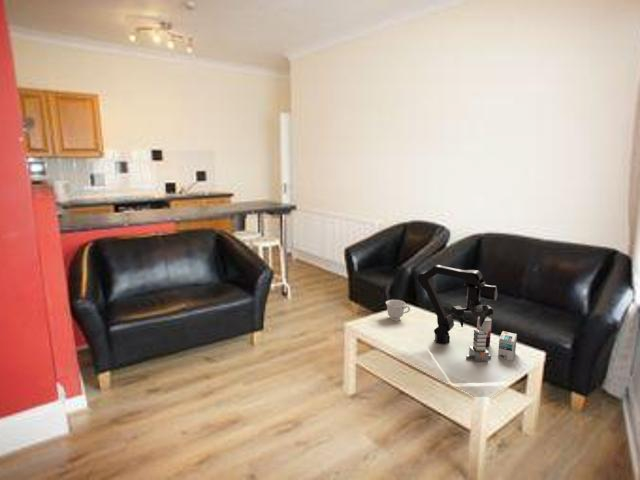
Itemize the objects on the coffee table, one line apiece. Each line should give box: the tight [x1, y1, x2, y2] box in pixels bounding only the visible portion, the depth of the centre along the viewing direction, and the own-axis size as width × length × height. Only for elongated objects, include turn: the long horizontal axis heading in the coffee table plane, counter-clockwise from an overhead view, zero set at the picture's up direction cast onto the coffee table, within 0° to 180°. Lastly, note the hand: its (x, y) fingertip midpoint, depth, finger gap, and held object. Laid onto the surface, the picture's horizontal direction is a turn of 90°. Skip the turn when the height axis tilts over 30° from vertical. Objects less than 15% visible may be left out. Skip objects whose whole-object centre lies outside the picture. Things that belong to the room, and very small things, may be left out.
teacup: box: [385, 299, 411, 321], centre depth 237 cm, size 12×15×10 cm
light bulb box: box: [497, 330, 518, 362], centre depth 190 cm, size 11×7×11 cm, turn 148°
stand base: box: [465, 345, 492, 363], centre depth 187 cm, size 12×12×6 cm
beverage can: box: [476, 316, 493, 348], centre depth 201 cm, size 6×6×15 cm
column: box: [472, 329, 487, 352], centre depth 185 cm, size 4×4×10 cm
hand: (471, 326), depth 195 cm, fingers open, 9 cm apart
